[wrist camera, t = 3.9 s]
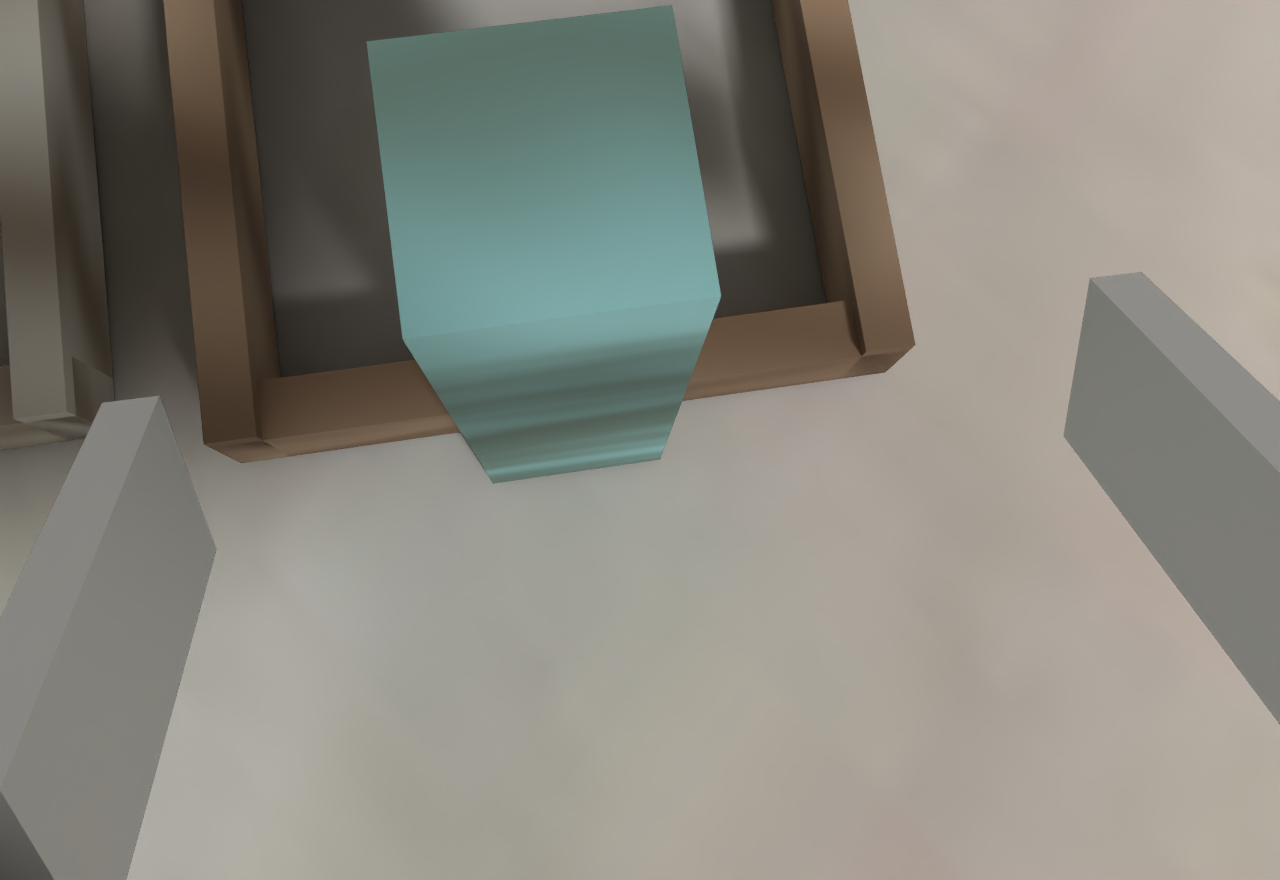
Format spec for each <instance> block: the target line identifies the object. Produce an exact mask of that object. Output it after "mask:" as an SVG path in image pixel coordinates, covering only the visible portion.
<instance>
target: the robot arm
mask: <svg viewBox="0 0 1280 880" xmlns="http://www.w3.org/2000/svg"><path fill="white" fill-rule="evenodd" d="M1064 437H1065V439H1066V440H1067V441H1068V443H1069V444H1070V445H1071V447H1072V448H1073V449H1074V451H1075V452H1076V453H1077V455H1078V456H1079V457H1080V459H1081V460H1082V461H1083V463H1084V464H1085V465H1086V467H1087V468H1088V469H1089V471H1090V472H1091V473H1092V475H1093V476H1094V477H1095V479H1096V480H1097V481H1098V483H1099V484H1100V485H1101V487H1102V488H1103V489H1104V491H1105V492H1106V493H1107V495H1108V496H1109V497H1110V499H1111V500H1112V501H1113V503H1114V504H1115V505H1116V507H1117V508H1118V509H1119V511H1120V512H1121V513H1122V515H1123V516H1124V517H1125V519H1126V520H1127V521H1128V523H1129V524H1130V525H1131V527H1132V528H1133V529H1134V531H1135V532H1136V533H1137V535H1138V536H1139V537H1140V539H1141V540H1142V541H1143V543H1144V544H1145V545H1146V547H1147V548H1148V549H1149V551H1150V552H1151V553H1152V555H1153V556H1154V557H1155V559H1156V560H1157V561H1158V563H1159V564H1160V565H1161V567H1162V568H1163V569H1164V571H1165V572H1166V573H1167V575H1168V576H1169V577H1170V579H1171V580H1172V581H1173V583H1174V584H1175V585H1176V587H1177V588H1178V589H1179V591H1180V592H1181V593H1182V595H1183V596H1184V597H1185V599H1186V600H1187V601H1188V603H1189V604H1190V605H1191V607H1192V608H1193V609H1194V611H1195V612H1196V613H1197V615H1198V616H1199V617H1200V619H1201V620H1202V621H1203V623H1204V624H1205V625H1206V627H1207V628H1208V629H1209V631H1210V632H1211V633H1212V635H1213V636H1214V637H1215V639H1216V640H1217V641H1218V643H1219V644H1220V645H1221V647H1222V648H1223V649H1224V651H1225V652H1226V653H1227V655H1228V656H1229V657H1230V659H1231V660H1232V661H1233V663H1234V664H1235V665H1236V667H1237V668H1238V669H1239V671H1240V672H1241V673H1242V675H1243V676H1244V677H1245V679H1246V680H1247V681H1248V683H1249V684H1250V685H1251V687H1252V688H1253V689H1254V691H1255V692H1256V693H1257V695H1258V696H1259V697H1260V699H1261V700H1262V701H1263V703H1264V704H1265V705H1266V707H1267V708H1268V709H1269V711H1270V712H1271V713H1272V715H1273V716H1274V717H1275V719H1276V720H1277V721H1278V723H1279V724H1280V401H1279V400H1278V399H1277V398H1275V397H1274V396H1273V395H1272V394H1271V393H1270V392H1269V391H1268V390H1267V389H1266V388H1265V387H1264V386H1263V385H1262V384H1261V383H1259V382H1258V381H1257V380H1256V379H1255V378H1254V377H1253V376H1252V375H1251V374H1250V373H1249V372H1248V371H1247V370H1246V369H1245V368H1243V367H1242V366H1241V365H1240V364H1239V363H1238V362H1237V361H1236V360H1235V359H1234V358H1233V357H1232V356H1231V355H1230V354H1229V353H1227V352H1226V351H1225V350H1224V349H1223V348H1222V347H1221V346H1220V345H1219V344H1218V343H1217V342H1216V341H1215V340H1214V339H1213V338H1211V337H1210V336H1209V335H1208V334H1207V333H1206V332H1205V331H1204V330H1203V329H1202V328H1201V327H1200V326H1199V325H1198V324H1197V323H1195V322H1194V321H1193V320H1192V319H1191V318H1190V317H1189V316H1188V315H1187V314H1186V313H1185V312H1184V311H1183V310H1182V309H1181V308H1179V307H1178V306H1177V305H1176V304H1175V303H1174V302H1173V301H1172V300H1171V299H1170V298H1169V297H1168V296H1167V295H1166V294H1165V293H1163V292H1162V291H1161V290H1160V289H1159V288H1158V287H1157V286H1156V285H1155V284H1154V283H1153V282H1152V281H1151V280H1150V279H1149V278H1147V277H1146V276H1145V275H1144V274H1143V273H1142V272H1137V273H1129V274H1121V275H1113V276H1105V277H1097V278H1090V281H1089V287H1088V293H1087V299H1086V305H1085V310H1084V316H1083V322H1082V328H1081V334H1080V340H1079V346H1078V352H1077V358H1076V364H1075V370H1074V376H1073V382H1072V388H1071V394H1070V400H1069V406H1068V412H1067V418H1066V424H1065V430H1064ZM215 553H216V547H215V544H214V541H213V539H212V536H211V533H210V531H209V528H208V525H207V523H206V520H205V517H204V515H203V512H202V509H201V506H200V504H199V501H198V498H197V496H196V493H195V490H194V488H193V485H192V482H191V480H190V477H189V474H188V471H187V469H186V466H185V463H184V461H183V458H182V455H181V453H180V450H179V447H178V444H177V442H176V439H175V436H174V434H173V431H172V428H171V426H170V423H169V420H168V418H167V415H166V412H165V409H164V407H163V404H162V401H161V399H160V396H152V397H144V398H136V399H128V400H120V401H112V402H104V403H102V404H101V406H100V408H99V411H98V413H97V415H96V417H95V419H94V421H93V423H92V425H91V427H90V430H89V432H88V434H87V436H86V438H85V440H84V442H83V444H82V446H81V448H80V451H79V453H78V455H77V457H76V459H75V461H74V463H73V465H72V467H71V470H70V472H69V474H68V476H67V478H66V480H65V482H64V484H63V486H62V489H61V491H60V493H59V495H58V497H57V499H56V501H55V503H54V505H53V507H52V510H51V512H50V514H49V516H48V518H47V520H46V522H45V524H44V526H43V529H42V531H41V533H40V535H39V537H38V539H37V541H36V543H35V545H34V548H33V550H32V552H31V554H30V556H29V558H28V560H27V562H26V564H25V566H24V569H23V571H22V573H21V575H20V577H19V579H18V581H17V583H16V585H15V588H14V590H13V592H12V594H11V596H10V598H9V600H8V602H7V604H6V607H5V609H4V611H3V613H2V615H1V617H0V880H126V879H127V875H128V872H129V868H130V864H131V861H132V857H133V853H134V850H135V846H136V842H137V839H138V835H139V831H140V828H141V824H142V820H143V817H144V813H145V809H146V806H147V802H148V798H149V795H150V791H151V787H152V784H153V780H154V776H155V773H156V769H157V765H158V762H159V758H160V754H161V751H162V747H163V743H164V740H165V736H166V732H167V729H168V725H169V721H170V718H171V714H172V710H173V707H174V703H175V699H176V696H177V692H178V689H179V685H180V681H181V678H182V674H183V670H184V667H185V663H186V659H187V656H188V652H189V648H190V645H191V641H192V637H193V634H194V630H195V626H196V623H197V619H198V615H199V612H200V608H201V604H202V601H203V597H204V593H205V590H206V586H207V582H208V579H209V575H210V571H211V568H212V564H213V560H214V557H215Z"/></svg>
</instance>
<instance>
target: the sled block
mask: <svg viewBox="0 0 1280 880" xmlns="http://www.w3.org/2000/svg"><path fill="white" fill-rule="evenodd" d="M0 219H1V234H2V250H3V266H4V281H5V297H6V313H7V328H8V344H9V359H10V364H9V365H2V366H0V450H2V449H9V448H17V447H24V446H31V445H38V444H46V443H53V442H60V441H67V440H75V439H82V438H86V436H87V434H88V432H89V430H90V427H91V425H92V423H93V421H94V419H95V417H96V415H97V413H98V411H99V408H100V406H101V404H102V403H104V402H112V401H115V398H114V385H113V372H112V360H111V347H110V334H109V322H108V309H107V296H106V284H105V271H104V258H103V246H102V233H101V220H100V208H99V195H98V182H97V169H96V157H95V144H94V131H93V119H92V106H91V93H90V81H89V68H88V55H87V43H86V30H85V17H84V5H83V0H0Z"/></svg>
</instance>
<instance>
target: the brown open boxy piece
mask: <svg viewBox="0 0 1280 880" xmlns="http://www.w3.org/2000/svg"><path fill="white" fill-rule="evenodd" d="M163 2H164V13H165V24H166V35H167V46H168V57H169V68H170V79H171V90H172V101H173V112H174V123H175V134H176V145H177V156H178V167H179V178H180V189H181V200H182V211H183V222H184V233H185V244H186V255H187V266H188V277H189V288H190V299H191V310H192V321H193V332H194V343H195V354H196V365H197V376H198V387H199V397H200V408H201V419H202V430H203V441H204V444H205V445H206V446H208V447H210V448H212V449H214V450H216V451H218V452H220V453H222V454H224V455H226V456H228V457H230V458H232V459H234V460H236V461H238V462H240V463H245V462H252V461H259V460H266V459H273V458H280V457H287V456H294V455H301V454H309V453H316V452H323V451H330V450H337V449H344V448H351V447H358V446H365V445H372V444H380V443H387V442H394V441H401V440H408V439H415V438H422V437H429V436H436V435H443V434H451V433H458V432H461V433H462V435H463V436H464V438H465V439H466V441H467V443H468V444H469V446H470V447H471V449H472V451H473V452H474V454H475V455H476V457H477V459H478V460H479V462H480V463H481V465H482V467H483V468H484V470H485V471H486V473H487V474H488V476H489V478H490V479H491V481H492V482H493V483H499V482H506V481H513V480H520V479H527V478H534V477H541V476H548V475H555V474H562V473H569V472H576V471H583V470H590V469H597V468H603V467H610V466H617V465H624V464H631V463H638V462H645V461H652V460H659V459H660V458H661V455H662V453H663V450H664V447H665V445H666V442H667V439H668V437H669V434H670V431H671V429H672V426H673V423H674V421H675V418H676V415H677V413H678V410H679V407H680V405H681V402H682V401H685V400H692V399H699V398H706V397H713V396H720V395H727V394H735V393H742V392H749V391H756V390H763V389H770V388H777V387H784V386H791V385H798V384H806V383H813V382H820V381H827V380H834V379H841V378H848V377H855V376H862V375H869V374H877V373H884V372H886V371H887V370H888V369H889V368H890V367H892V366H893V365H894V364H895V363H896V362H897V361H898V360H899V359H900V358H901V357H903V356H904V355H905V354H906V353H907V352H908V351H909V350H910V349H911V348H912V347H913V346H915V341H914V336H913V331H912V326H911V321H910V315H909V310H908V305H907V300H906V295H905V290H904V285H903V280H902V275H901V270H900V264H899V259H898V254H897V249H896V244H895V239H894V234H893V229H892V224H891V218H890V213H889V208H888V203H887V198H886V193H885V188H884V183H883V178H882V173H881V167H880V162H879V157H878V152H877V147H876V142H875V137H874V132H873V127H872V122H871V116H870V111H869V106H868V101H867V96H866V91H865V86H864V81H863V76H862V70H861V65H860V60H859V55H858V50H857V45H856V40H855V35H854V30H853V25H852V19H851V14H850V9H849V4H848V0H771V2H772V8H773V13H774V19H775V24H776V30H777V35H778V40H779V46H780V51H781V57H782V62H783V68H784V73H785V78H786V84H787V89H788V95H789V100H790V106H791V111H792V116H793V122H794V127H795V133H796V138H797V144H798V149H799V154H800V160H801V165H802V171H803V176H804V182H805V187H806V192H807V198H808V203H809V209H810V214H811V220H812V225H813V230H814V236H815V241H816V247H817V252H818V258H819V263H820V268H821V274H822V279H823V285H824V290H825V296H826V301H827V303H824V304H816V305H809V306H802V307H794V308H787V309H780V310H772V311H765V312H758V313H750V314H743V315H736V316H728V317H721V318H714V319H713V317H714V314H715V312H716V309H717V306H718V304H719V301H720V298H721V292H720V286H719V280H718V274H717V268H716V262H715V256H714V250H713V245H712V239H711V233H710V227H709V221H708V215H707V209H706V203H705V197H704V191H703V185H702V179H701V173H700V168H699V162H698V156H697V150H696V144H695V138H694V132H693V126H692V120H691V114H690V108H689V102H688V96H687V91H686V85H685V79H684V73H683V67H682V61H681V55H680V49H679V43H678V37H677V31H676V25H675V20H674V14H673V8H672V5H671V6H662V7H654V8H645V9H637V10H628V11H620V12H611V13H603V14H594V15H586V16H577V17H569V18H561V19H552V20H544V21H535V22H527V23H518V24H510V25H501V26H493V27H484V28H476V29H467V30H459V31H450V32H442V33H434V34H425V35H417V36H408V37H400V38H391V39H383V40H374V41H366V42H367V51H368V59H369V67H370V75H371V83H372V92H373V100H374V108H375V116H376V125H377V133H378V141H379V149H380V158H381V166H382V174H383V182H384V191H385V199H386V207H387V215H388V223H389V232H390V240H391V248H392V256H393V265H394V273H395V281H396V289H397V298H398V306H399V314H400V322H401V330H402V339H403V341H404V342H405V344H406V346H407V347H408V349H409V350H410V352H411V354H412V355H413V357H414V358H415V359H413V360H406V361H398V362H391V363H384V364H376V365H369V366H362V367H354V368H347V369H340V370H332V371H325V372H318V373H310V374H303V375H296V376H288V377H280V367H279V357H278V348H277V338H276V328H275V319H274V309H273V299H272V290H271V280H270V270H269V260H268V251H267V241H266V231H265V222H264V212H263V202H262V193H261V183H260V173H259V163H258V154H257V144H256V134H255V125H254V115H253V105H252V96H251V86H250V76H249V67H248V57H247V47H246V37H245V28H244V18H243V8H242V0H163Z"/></svg>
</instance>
